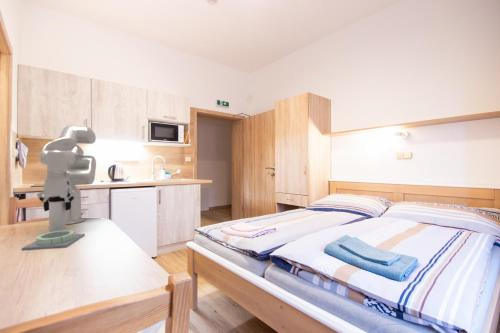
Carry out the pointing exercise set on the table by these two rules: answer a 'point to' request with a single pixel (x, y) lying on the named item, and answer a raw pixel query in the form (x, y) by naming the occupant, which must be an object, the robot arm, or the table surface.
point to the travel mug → (57, 214)
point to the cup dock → (62, 245)
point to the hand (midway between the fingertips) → (57, 210)
